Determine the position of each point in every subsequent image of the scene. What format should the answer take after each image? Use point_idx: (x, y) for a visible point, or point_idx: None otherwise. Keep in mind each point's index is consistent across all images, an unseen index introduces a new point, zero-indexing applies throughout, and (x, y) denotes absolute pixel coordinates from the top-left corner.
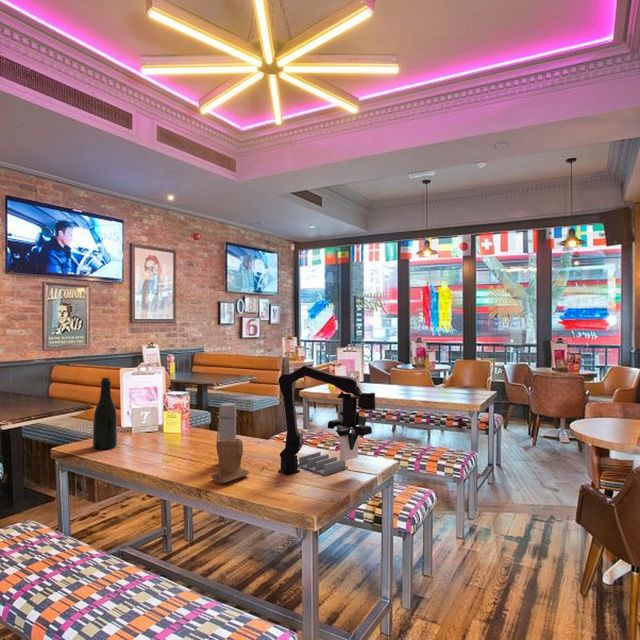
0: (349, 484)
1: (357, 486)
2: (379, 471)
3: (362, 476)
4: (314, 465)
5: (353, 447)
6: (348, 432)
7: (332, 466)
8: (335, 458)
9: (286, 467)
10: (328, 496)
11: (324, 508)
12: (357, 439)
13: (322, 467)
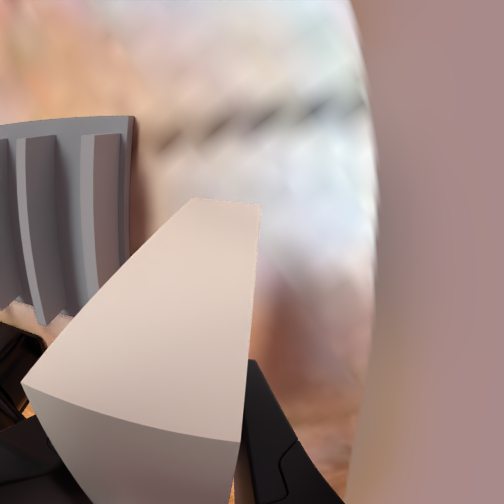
0: (320, 352)
1: (366, 349)
2: (352, 35)
3: (316, 197)
4: (14, 252)
5: (264, 377)
6: (32, 489)
7: (108, 272)
8: (31, 152)
9: None
10: (311, 456)
11: (342, 488)
12: (248, 339)
13: (58, 265)
